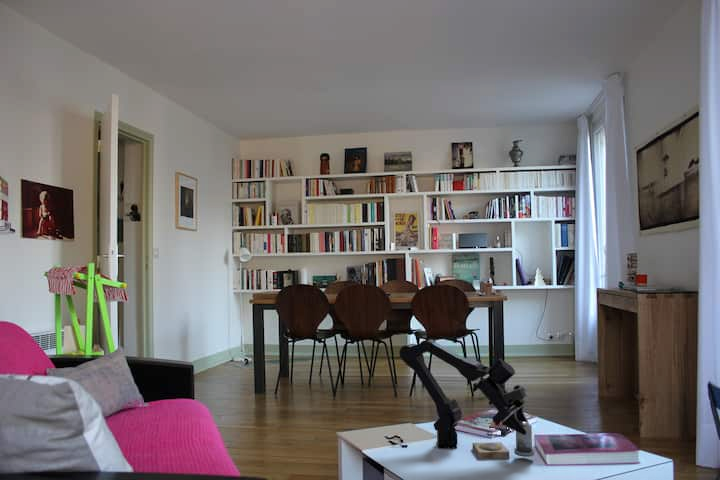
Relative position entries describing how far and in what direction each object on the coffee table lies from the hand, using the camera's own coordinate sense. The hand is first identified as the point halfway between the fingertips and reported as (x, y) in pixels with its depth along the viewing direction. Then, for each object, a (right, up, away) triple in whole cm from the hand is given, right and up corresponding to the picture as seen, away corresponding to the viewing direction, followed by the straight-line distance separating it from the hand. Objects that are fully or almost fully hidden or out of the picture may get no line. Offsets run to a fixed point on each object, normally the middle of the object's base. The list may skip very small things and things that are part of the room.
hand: (527, 431), depth 180 cm
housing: (-1, -7, 0) cm, 7 cm away
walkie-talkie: (+1, -12, +35) cm, 37 cm away
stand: (-11, -10, +7) cm, 16 cm away
